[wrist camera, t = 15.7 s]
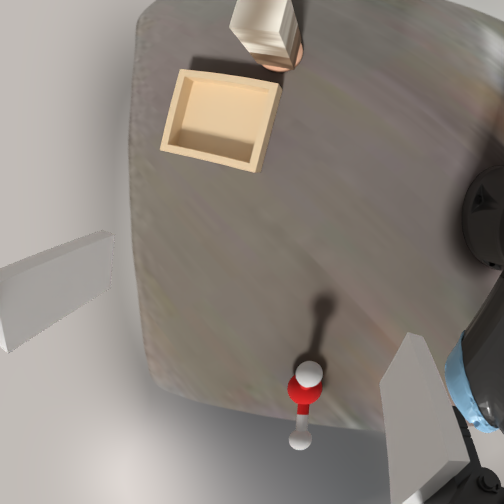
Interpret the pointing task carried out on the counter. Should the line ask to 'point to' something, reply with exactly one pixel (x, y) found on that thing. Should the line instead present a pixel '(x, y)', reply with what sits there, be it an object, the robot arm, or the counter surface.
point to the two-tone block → (268, 31)
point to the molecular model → (304, 400)
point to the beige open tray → (221, 118)
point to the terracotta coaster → (279, 69)
